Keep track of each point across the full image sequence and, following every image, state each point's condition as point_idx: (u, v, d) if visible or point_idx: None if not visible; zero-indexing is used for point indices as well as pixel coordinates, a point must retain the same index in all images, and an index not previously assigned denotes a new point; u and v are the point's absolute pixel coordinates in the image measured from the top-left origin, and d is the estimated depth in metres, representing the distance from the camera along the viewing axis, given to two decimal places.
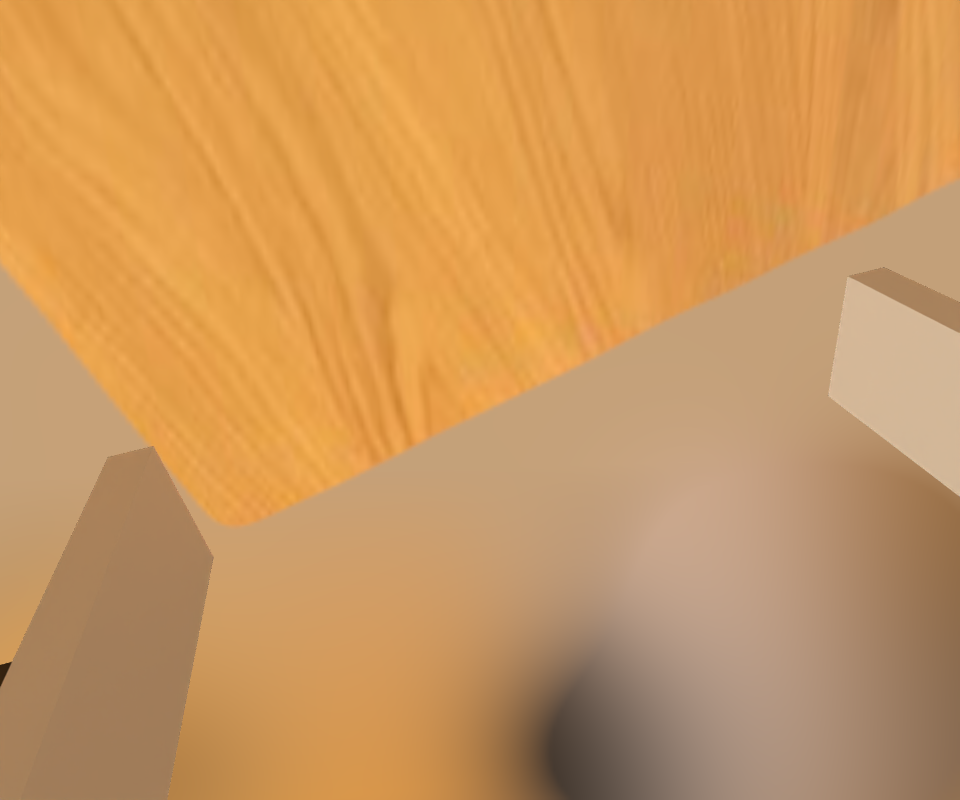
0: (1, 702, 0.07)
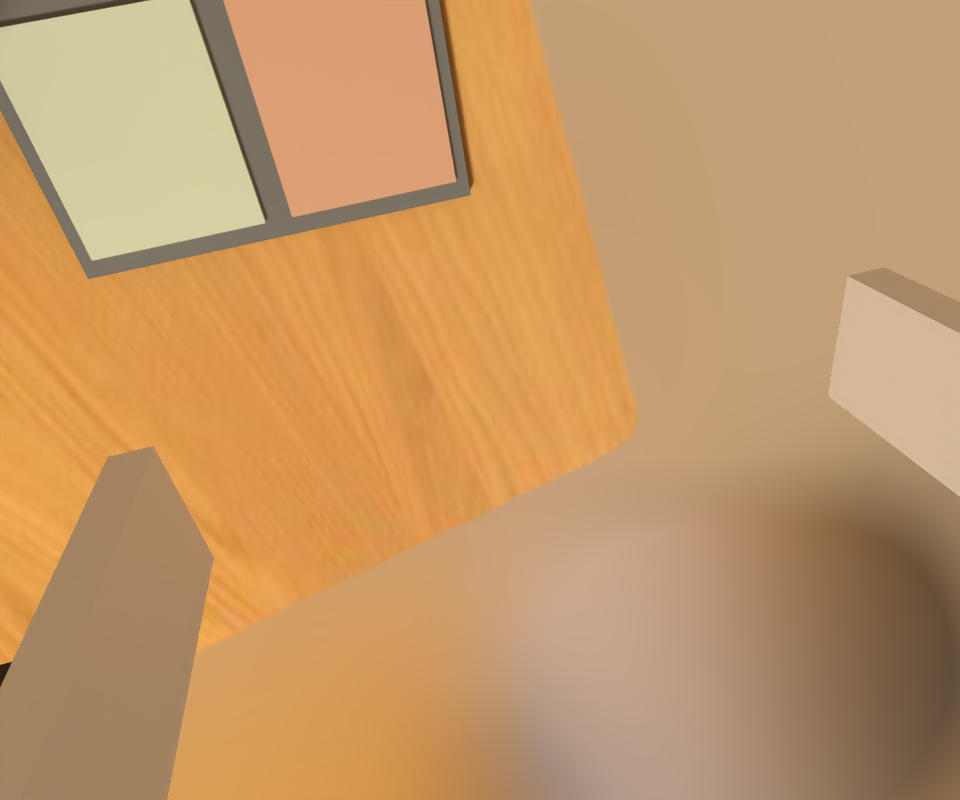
0: (1, 703, 0.07)
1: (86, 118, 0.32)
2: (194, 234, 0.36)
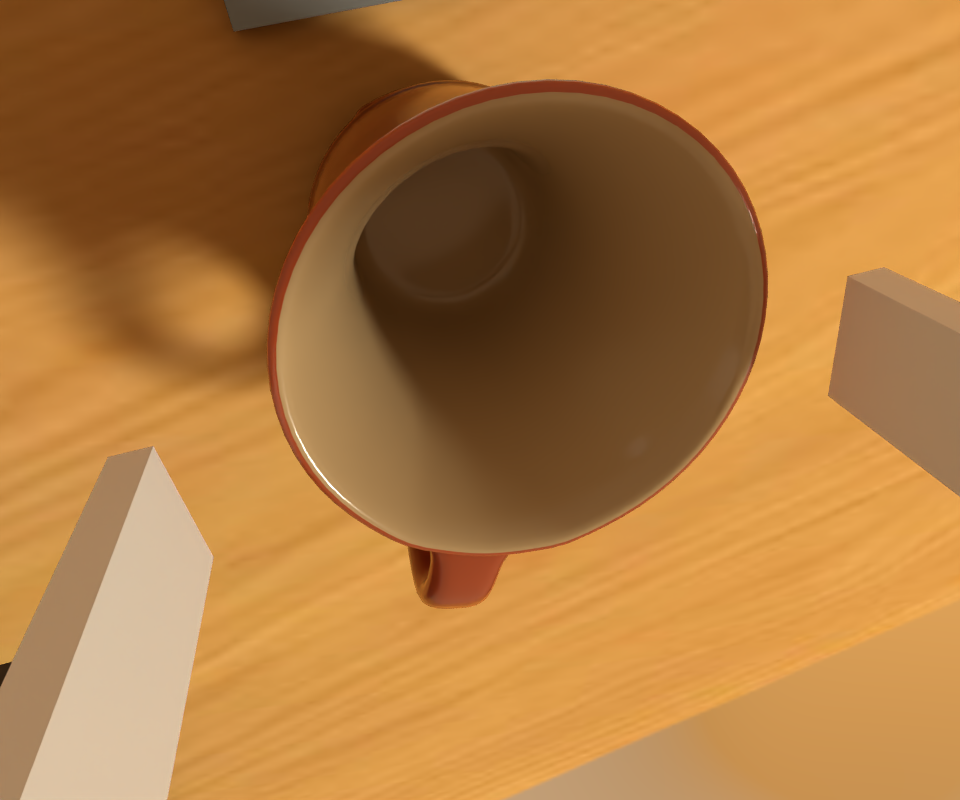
0: (1, 702, 0.07)
1: None
2: None
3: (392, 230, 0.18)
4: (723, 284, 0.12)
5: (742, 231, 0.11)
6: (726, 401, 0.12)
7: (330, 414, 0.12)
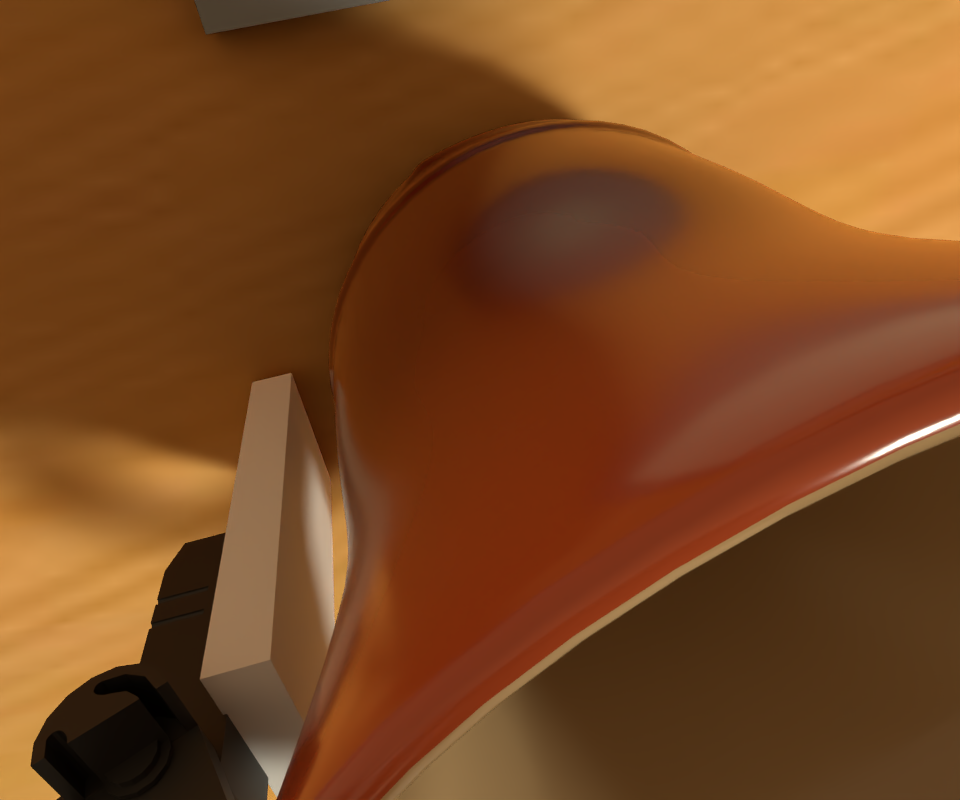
0: (230, 551, 0.08)
1: None
2: None
3: None
4: None
5: None
6: None
7: None
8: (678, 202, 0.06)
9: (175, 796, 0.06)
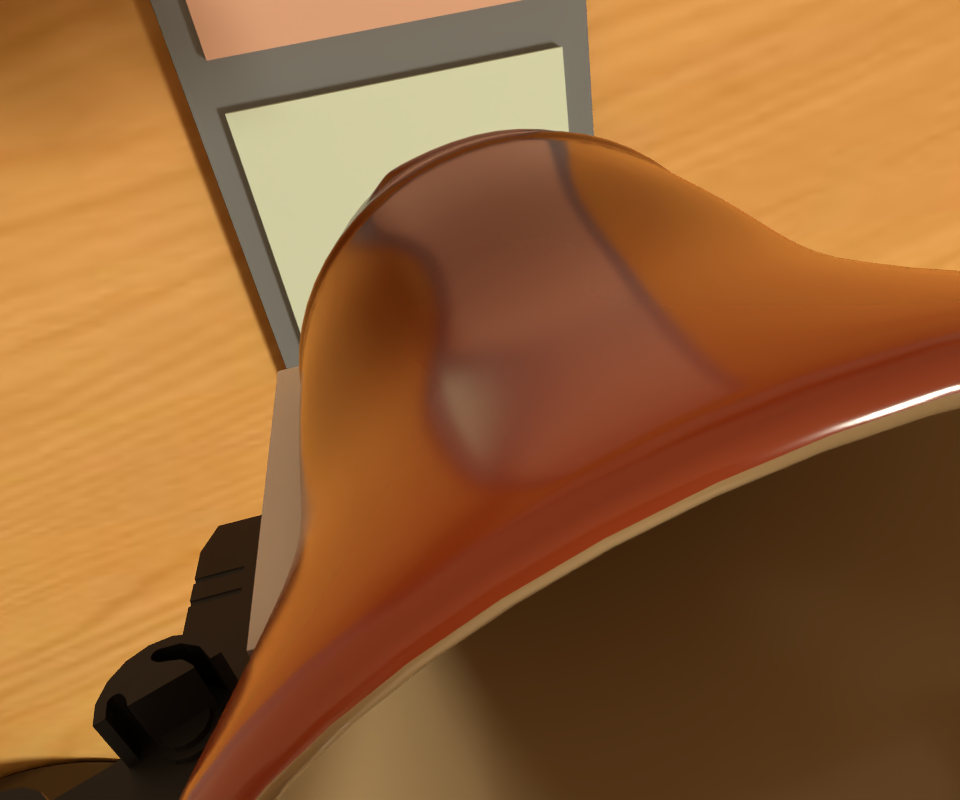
0: (267, 531, 0.09)
1: None
2: None
3: None
4: None
5: None
6: None
7: None
8: (617, 217, 0.06)
9: None
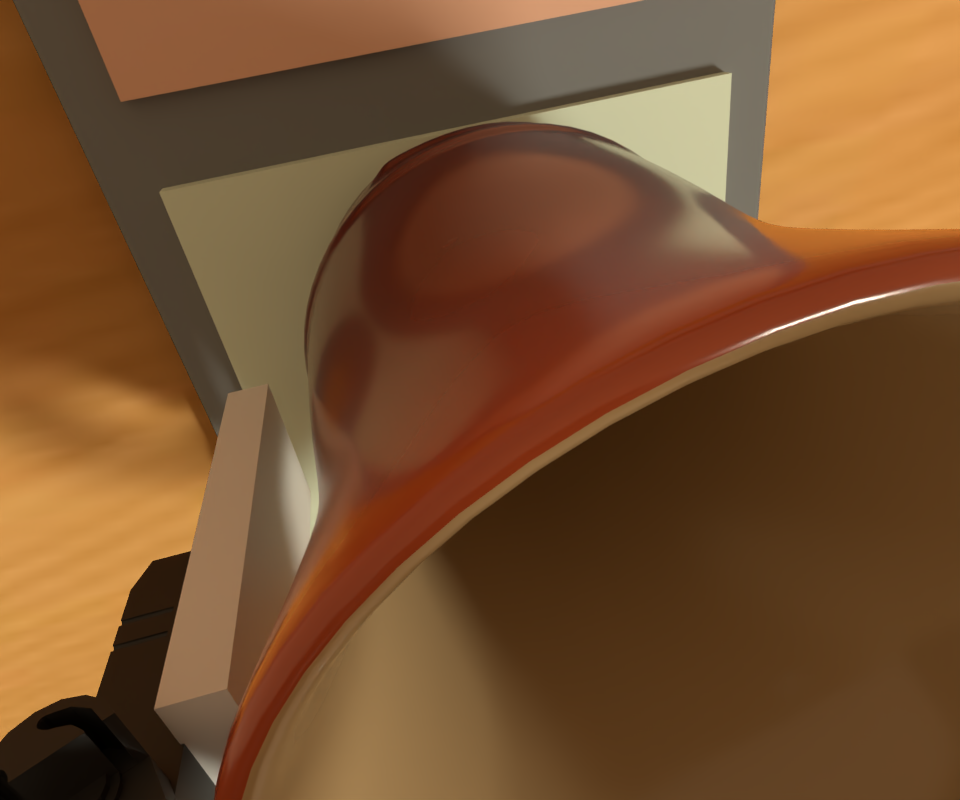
0: (193, 572, 0.08)
1: None
2: None
3: None
4: None
5: None
6: None
7: None
8: (602, 197, 0.07)
9: None
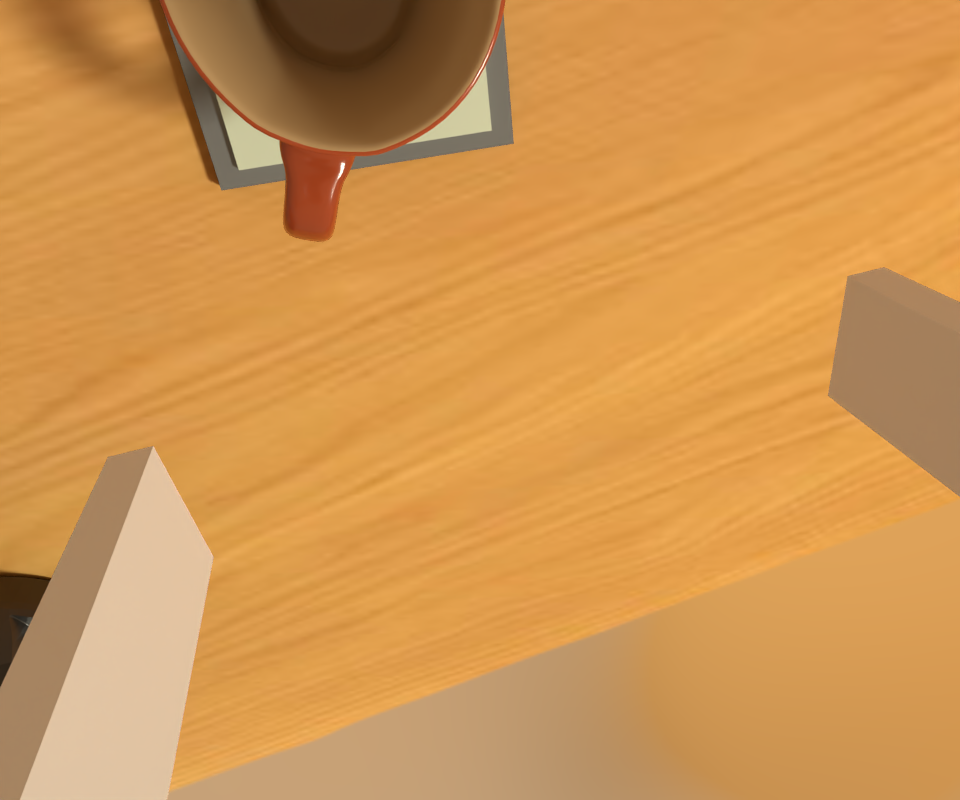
0: (1, 702, 0.07)
1: None
2: None
3: None
4: None
5: None
6: (488, 37, 0.17)
7: (199, 11, 0.17)
8: None
9: None
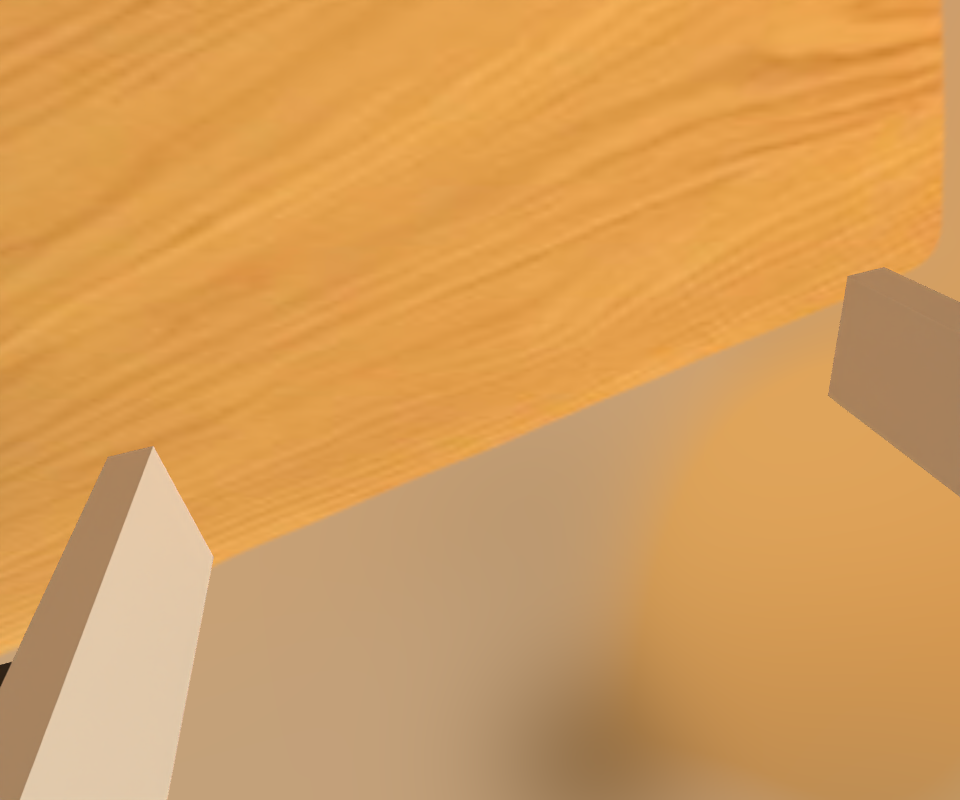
0: (1, 702, 0.07)
1: None
2: None
3: None
4: None
5: None
6: None
7: None
8: None
9: None
